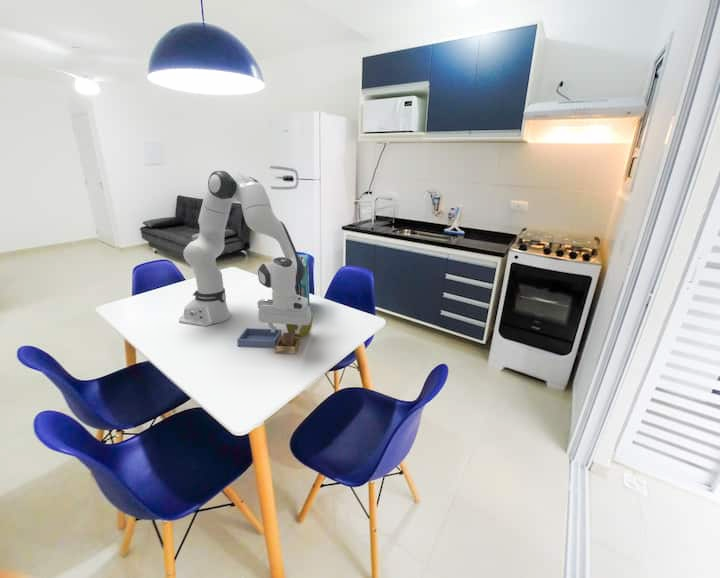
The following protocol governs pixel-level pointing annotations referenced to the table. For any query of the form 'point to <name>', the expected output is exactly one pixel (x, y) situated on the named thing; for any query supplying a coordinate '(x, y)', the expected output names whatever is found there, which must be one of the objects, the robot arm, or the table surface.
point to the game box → (304, 279)
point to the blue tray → (259, 338)
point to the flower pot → (303, 330)
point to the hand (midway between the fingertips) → (285, 332)
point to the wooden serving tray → (287, 347)
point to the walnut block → (288, 339)
